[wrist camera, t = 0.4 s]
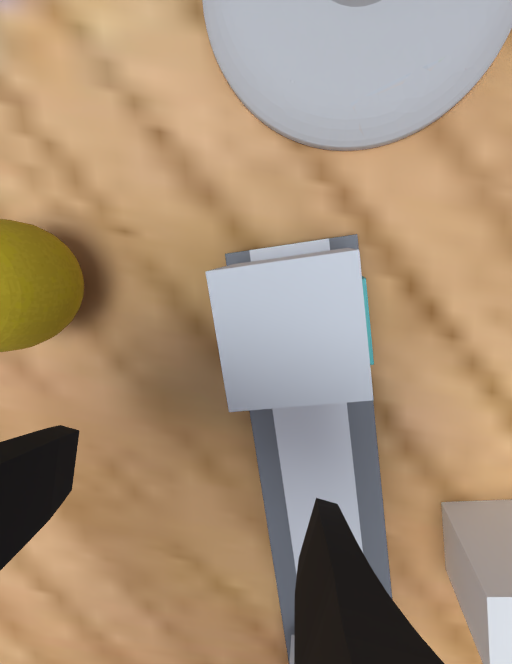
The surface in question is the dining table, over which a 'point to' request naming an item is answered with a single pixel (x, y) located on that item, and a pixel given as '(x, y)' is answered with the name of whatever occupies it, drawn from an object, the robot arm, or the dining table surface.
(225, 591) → the dining table surface
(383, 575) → the board
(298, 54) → the candlestick
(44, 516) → the robot arm
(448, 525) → the block
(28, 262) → the lemon
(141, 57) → the dining table surface
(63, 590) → the dining table surface
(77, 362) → the dining table surface
